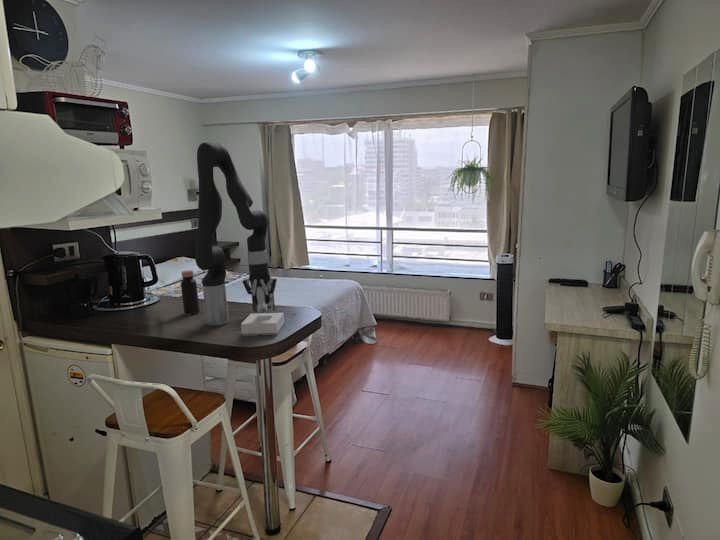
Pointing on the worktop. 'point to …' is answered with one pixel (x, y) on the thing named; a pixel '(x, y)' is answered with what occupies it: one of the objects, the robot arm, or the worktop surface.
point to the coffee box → (270, 306)
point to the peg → (261, 299)
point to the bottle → (189, 293)
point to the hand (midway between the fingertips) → (262, 303)
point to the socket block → (262, 324)
